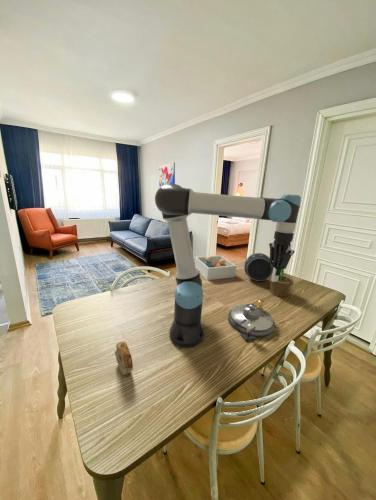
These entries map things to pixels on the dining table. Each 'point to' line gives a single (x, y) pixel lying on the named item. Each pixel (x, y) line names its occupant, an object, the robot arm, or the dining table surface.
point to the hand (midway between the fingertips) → (274, 280)
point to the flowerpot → (280, 285)
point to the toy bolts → (209, 264)
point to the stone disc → (123, 358)
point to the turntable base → (256, 334)
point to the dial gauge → (250, 329)
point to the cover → (251, 312)
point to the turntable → (260, 324)
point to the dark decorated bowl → (258, 267)
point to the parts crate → (215, 268)
